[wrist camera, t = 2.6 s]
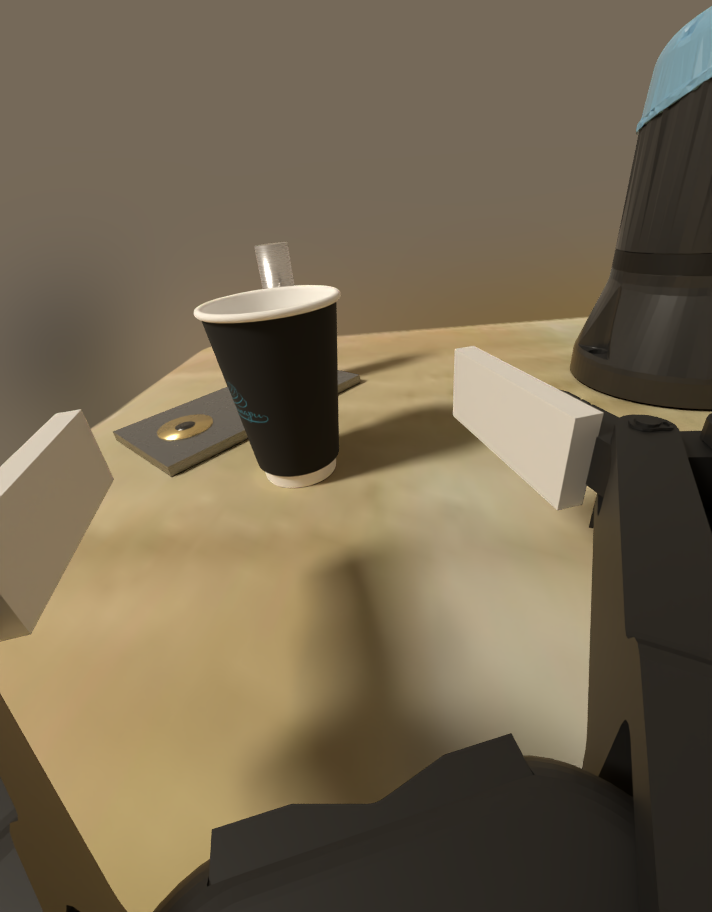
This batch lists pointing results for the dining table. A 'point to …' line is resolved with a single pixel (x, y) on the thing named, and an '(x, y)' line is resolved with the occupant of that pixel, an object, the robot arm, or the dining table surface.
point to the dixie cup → (281, 375)
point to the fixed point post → (274, 265)
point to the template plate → (194, 430)
